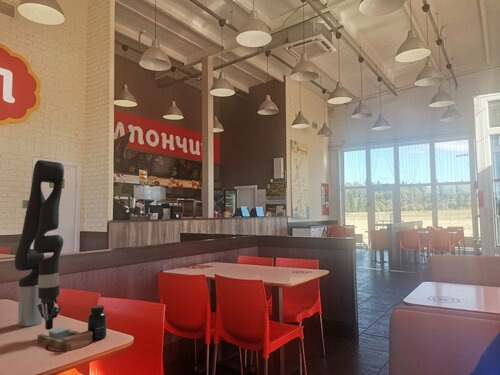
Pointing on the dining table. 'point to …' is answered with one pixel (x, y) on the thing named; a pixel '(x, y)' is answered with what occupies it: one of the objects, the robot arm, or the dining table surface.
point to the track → (68, 340)
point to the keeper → (59, 333)
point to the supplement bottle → (97, 322)
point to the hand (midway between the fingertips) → (49, 329)
